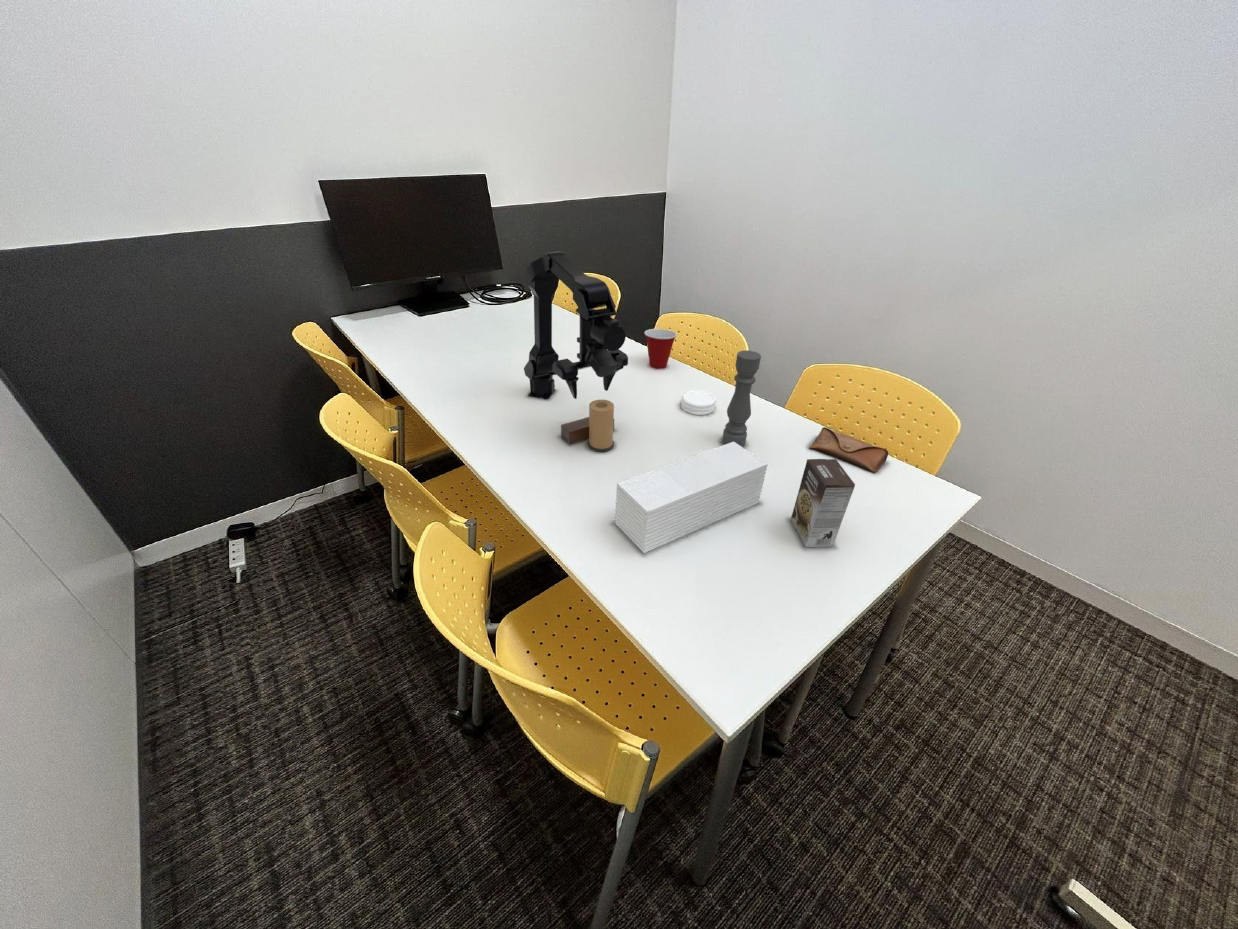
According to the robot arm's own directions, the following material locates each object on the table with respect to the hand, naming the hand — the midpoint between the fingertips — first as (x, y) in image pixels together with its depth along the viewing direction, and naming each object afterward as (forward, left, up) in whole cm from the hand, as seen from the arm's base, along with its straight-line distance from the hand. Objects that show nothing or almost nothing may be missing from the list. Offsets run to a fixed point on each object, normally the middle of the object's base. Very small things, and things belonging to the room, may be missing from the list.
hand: (590, 394), depth 136 cm
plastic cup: (+8, +52, -13) cm, 54 cm away
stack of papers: (+30, -25, -13) cm, 41 cm away
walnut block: (-1, +1, -13) cm, 13 cm away
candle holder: (+37, +8, -13) cm, 40 cm away
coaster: (+25, +25, -13) cm, 38 cm away
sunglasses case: (+67, +12, -13) cm, 69 cm away
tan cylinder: (+1, 0, -11) cm, 11 cm away
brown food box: (+56, -24, -13) cm, 62 cm away
